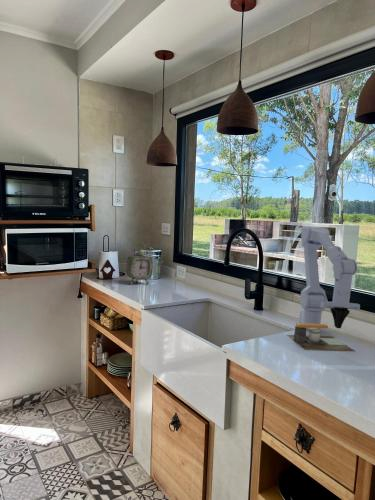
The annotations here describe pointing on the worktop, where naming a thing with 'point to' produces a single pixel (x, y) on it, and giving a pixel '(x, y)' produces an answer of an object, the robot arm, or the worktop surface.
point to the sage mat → (333, 341)
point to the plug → (314, 335)
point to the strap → (311, 325)
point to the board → (303, 341)
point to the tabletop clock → (139, 266)
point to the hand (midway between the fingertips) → (337, 327)
